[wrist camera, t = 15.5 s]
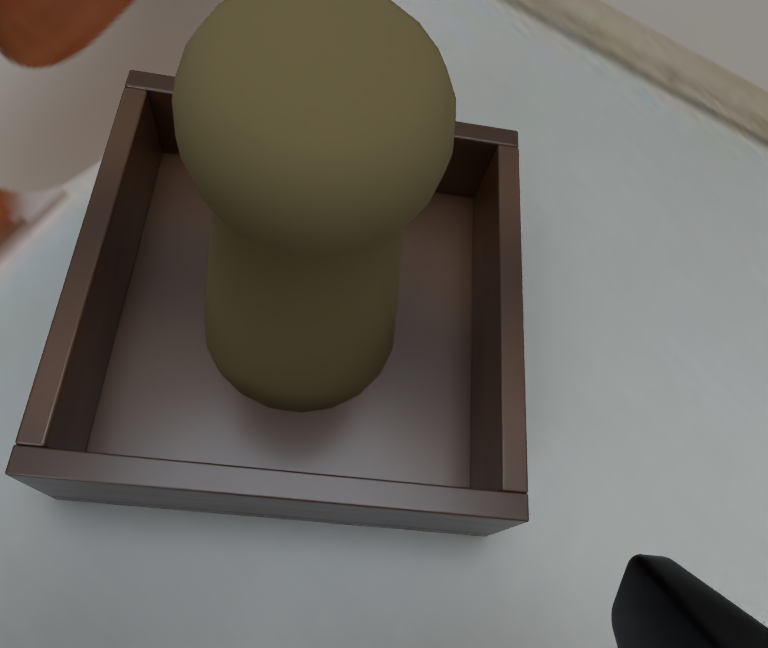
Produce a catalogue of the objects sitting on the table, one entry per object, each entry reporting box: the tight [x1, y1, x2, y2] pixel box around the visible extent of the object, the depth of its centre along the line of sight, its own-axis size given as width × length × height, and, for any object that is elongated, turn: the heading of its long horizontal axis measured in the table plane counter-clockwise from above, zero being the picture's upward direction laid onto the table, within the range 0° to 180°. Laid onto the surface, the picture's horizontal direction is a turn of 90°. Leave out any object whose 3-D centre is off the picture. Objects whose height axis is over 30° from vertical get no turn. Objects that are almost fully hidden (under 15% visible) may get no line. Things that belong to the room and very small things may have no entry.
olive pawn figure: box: [172, 0, 456, 413], centre depth 15 cm, size 6×6×11 cm
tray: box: [5, 70, 529, 536], centre depth 19 cm, size 12×12×4 cm
